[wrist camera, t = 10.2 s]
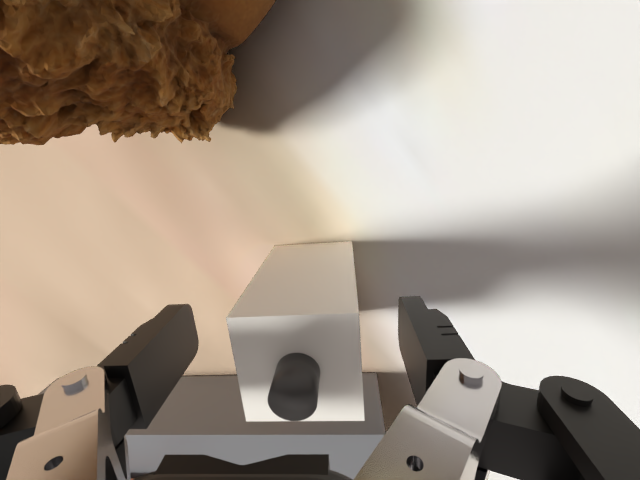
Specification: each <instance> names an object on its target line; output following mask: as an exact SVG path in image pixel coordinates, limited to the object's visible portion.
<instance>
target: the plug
mask: <svg viewBox="0 0 640 480" xmlns="http://www.w3.org/2000/svg"><path fill="white" fill-rule="evenodd" d="M226 320H227V325H228V330H229V335H230V341H231V346H232V351H233V356H234V361H235V366H236V372H237V377H238V382H239V387H240V392H241V398H242V403H243V408H244V413H245V418H246V422H247V421H365V419H364V400H363V381H362V361H361V342H360V323H359V308H358V298H357V287H356V277H355V267H354V256H353V246H352V241H346V242H328V243H311V244H294V245H277V246H274V247H273V249H272V250H271V252H270V253H269V255H268V256H267V258H266V259H265V261H264V262H263V264H262V265H261V267H260V268H259V269H258V271H257V272H256V274H255V275H254V277H253V278H252V280H251V281H250V283H249V284H248V286H247V287H246V289H245V290H244V292H243V293H242V295H241V296H240V298H239V299H238V301H237V302H236V304H235V305H234V307H233V308H232V310H231V311H230V313H229V314H228V316H227V317H226Z"/></svg>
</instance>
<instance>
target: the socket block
mask: <svg viewBox="0 0 640 480" xmlns="http://www.w3.org/2000/svg"><path fill="white" fill-rule="evenodd" d="M58 379H59V378H58ZM58 379H56V380H58ZM56 380H55V381H56ZM55 381H54V382H55ZM362 381H363V400H364V419H365V421H247V422H246V418H245V413H244V408H243V403H242V398H241V392H240V387H239V382H238V377H237V375H224V376H182V377H181V378H180V380H179V381H178V383H177V384H176V386H175V387H174V389H173V390H172V392H171V393H170V395H169V396H168V398H167V399H166V401H165V402H164V404H163V405H162V407H161V408H160V410H159V411H158V413H157V414H156V416H155V417H154V419H153V420H152V422H151V423H150V425H149V426H148V428H147V429H129V430H128V432H127V433H126V434H125V437H126V440H127V444H128V455H129V466H130V477H131V478H133V479H135V478H137V477H140V476H142V475H145V474H147V473H150V472H153V471H156V470H157V468H158V466H159V465H160V463H161V461H162V459H163V457H164V456H165V455H208V456H211V457H214V458H218V459H221V460H224V461H228V462H231V463H235V464H238V465H247V464H251V463H255V462H259V461H263V460H267V459H271V458H275V457H279V456H283V455H287V454H329V463H330V470H332V471H336V472H339V473H341V474H343V475H345V476H348V477H349V478H351V479H353V480H354V478H355V477H356V475H357V474H358V472H359V471H360V470H361V468H362V467H363V465H364V464H365V462H366V461H367V459H368V458H369V456H370V455H371V454H372V452H373V451H374V449H375V448H376V446H377V445H378V443H379V442H380V441H381V439H382V438H383V436H384V435H385V426H384V420H383V413H382V406H381V399H380V393H379V386H378V379H377V373H362ZM54 382H53V383H54ZM51 384H52V383H51ZM51 384H50V385H51ZM50 385H49V386H50ZM49 386H48V387H49ZM48 387H46V388H45V389H44V390H43V391H42V392H40V393H39V394H44V393H45V391H46V390H47V388H48ZM39 394H38V395H39Z"/></svg>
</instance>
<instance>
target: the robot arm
mask: <svg viewBox="0 0 640 480" xmlns="http://www.w3.org/2000/svg"><path fill="white" fill-rule="evenodd" d="M398 338H399V346H400V351H401V355H402V358H403V361H404V364H405V368H406V371H407V374H408V377H409V381H410V384H411V387H412V390H413V394H414V397H415V400H416V403H417V408H416V407H414V406H412V405H409V404H408V405H406V406H405V407H404V408H403V409H402V410H401V412H400V413H399V415H398V416H397V417H396V419H395V420H394V422H393V423H392V425H391V426H390V428H389V429H388V430H387V432H386V433H385V435H384V436H383V438H382V439H381V441H380V442H379V443H378V445H377V446H376V448H375V449H374V451H373V452H372V454H371V455H370V456H369V458H368V459H367V461H366V462H365V464H364V465H363V467H362V468H361V470H360V471H359V472H358V474H357V475H356V477H355V478H354V480H488V477H489V474H490V471H493V472H497V473H500V474H503V475H507V476H510V477H513V478H516V479H520V480H640V429H639V428H638V427H637V426H636V425H635V424H634V423H633V422H632V421H631V420H630V419H629V418H628V417H627V416H626V415H625V414H624V413H623V412H622V411H621V410H620V409H619V408H618V407H617V406H616V405H615V404H614V403H613V402H612V401H611V400H610V399H609V398H608V397H607V396H606V395H605V394H604V393H602V392H601V391H600V390H598V389H596V388H595V387H593V386H591V385H589V384H587V383H585V382H583V381H580V380H577V379H574V378H570V377H564V376H550V377H547V378H544V379H543V380H542V381H541V382H540V386H539V390H534V389H530V388H525V387H520V386H515V385H511V384H507V383H504V382H502V381H501V379H500V377H499V375H498V374H497V373H496V372H495V371H494V370H493V369H492V368H491V367H489V366H488V365H486V364H484V363H482V362H479V361H476V360H475V359H474V358H473V356H472V354H471V353H470V351H469V350H468V348H467V347H466V345H465V344H464V342H463V340H462V339H461V337H460V336H459V335H458V333H457V331H456V329H455V328H454V327H453V325H452V323H451V322H450V320H449V318H448V317H447V316H446V315H444V314H443V313H441V312H440V311H438V310H437V309H427V307H426V306H425V304H424V302H423V300H422V298H421V297H420V296H412V297H399V310H398ZM197 350H198V335H197V331H196V326H195V321H194V316H193V312H192V308H191V306H190V305H189V304H176V305H167V306H166V307H165V308H164V309H163V310H162V311H161V312H160V313H158V314H157V315H156V316H155V317H154V318H153V319H151V320H149V321H148V322H146V323H144V324H142V325H141V326H139V327H138V328H137V329H136V330H135V331H134V332H133V333H132V334H131V336H129V337H128V338H127V339H125V340H124V341H123V344H120V345H119V346H118V347H117V348H116V349H115V350H114V351H113V352H111V353H110V354H109V355H108V356H107V357H106V358H105V359H104V360H103V361H102V362H101V363H100V364H98V365H97V366H91V367H85V368H81V369H78V370H75V371H73V372H70V373H68V374H66V375H64V376H63V377H61V378H59V379H58V380H56V381H55V382H54V383H52V384H51V385H50V386H49V387H48V388H47V390H46V391H45V393H44V394H39V395H35V396H31V397H27V398H22V399H20V397H19V395H18V392H17V390H16V388H15V386H13V385H1V386H0V480H131V477H130V466H129V455H128V444H127V440H126V437H125V434H126V433H127V432H128V430H129V429H147V428H148V426H149V425H150V423H151V422H152V420H153V419H154V417H155V416H156V414H157V413H158V411H159V410H160V408H161V407H162V405H163V404H164V402H165V401H166V399H167V398H168V396H169V395H170V393H171V392H172V390H173V389H174V387H175V386H176V384H177V383H178V381H179V380H180V378H181V377H182V375H183V374H184V372H185V371H186V369H187V368H188V366H189V365H190V363H191V362H192V360H193V359H194V357H195V355H196V353H197ZM133 480H353V479H351V478H349V477H348V476H345V475H343V474H341V473H339V472H336V471H332V470H330V463H329V454H287V455H283V456H279V457H275V458H271V459H267V460H263V461H259V462H255V463H251V464H247V465H238V464H235V463H231V462H228V461H224V460H221V459H218V458H214V457H211V456H208V455H165V456H164V457H163V459H162V461H161V463H160V465H159V466H158V468H157V470H156V471H153V472H150V473H147V474H145V475H142V476H140V477H137V478H135V479H133Z"/></svg>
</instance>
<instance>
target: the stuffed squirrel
mask: <svg viewBox="0 0 640 480" xmlns="http://www.w3.org/2000/svg"><path fill="white" fill-rule="evenodd" d="M275 1H276V0H0V144H12V145H13V144H15V143H18V142H21V143H22V144H35V145H44V144H45V143H46V142H47V141H48V140H49V139H50V138H52V137H55V138H60V137H62V136H72V135H76V134H80V133H82V132H83V131H84V129H85V128H86V127H90V126H91V125H92V124H97V126H98V128H99V131H100V135H104V134H107V133H109V132H112V134H111V135H112V140H113V141H114V142H116V141H117V140H118V139H119V138H120V137H121V136H122V135H123V134H124V135H125V136H124V137H131V136H133V135H134V134H135V133H136V132H137V133H139V134H141V133H142V132H148V131H151V137H152V138H156V137H157V136H158V134H159V133H160V132H161V133H162V132H165V133H167V134H168V133H169V132H172V133H173V134H174V136H175V137H176V138H177V139H178V140H179V141H180V142H181V143H182V141H183V140H184V139H187V140H189V141H190V140H192V138H193V137H195V138H197V139H198V140H202V141H203V140H204V139H206V140H207V141H208V142H209V141H211V138H209V132H210V131H211V130H212V128H213V127H214V124H216V123H217V122H220V120H221V117H222V115H223V114H224V113H225V112H226V111H227V110H228V108H232V109H234V105H233V99H234V94H236V91H237V86H236V84H235V83H236V81H237V80H236V78H235V76H234V74H233V73H232V71H231V70H232V66H233V64H234V59H235V56H234V55H232V54H231V55H228V54H227V52H228V50H230V49H232V48H234V47H237V46H239V45H240V44H241V43H243V42H244V41H245V40H246V39H247V38H248V37H249V36H250V34H251V33H252V32H253V31H254V29H255V28H256V27H257V26H258V25H259V23H260V22H261V21H262V20H263V19H264V17H265V16H266V14H267V13H268V12H269V10H270V9H271V7H272V6H273V4H274V3H275Z"/></svg>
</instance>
